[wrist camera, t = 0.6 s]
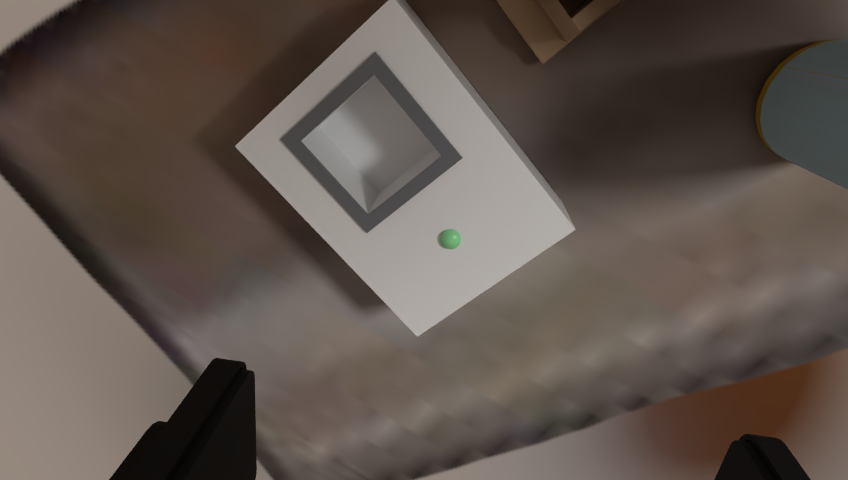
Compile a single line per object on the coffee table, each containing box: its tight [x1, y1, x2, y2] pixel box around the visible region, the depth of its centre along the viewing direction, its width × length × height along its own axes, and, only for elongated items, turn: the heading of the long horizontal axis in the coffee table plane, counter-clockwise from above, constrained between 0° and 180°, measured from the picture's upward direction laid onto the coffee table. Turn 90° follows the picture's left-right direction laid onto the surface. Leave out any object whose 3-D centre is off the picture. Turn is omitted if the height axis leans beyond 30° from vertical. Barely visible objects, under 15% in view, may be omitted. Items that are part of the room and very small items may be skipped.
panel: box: [235, 0, 576, 336], centre depth 33 cm, size 12×16×5 cm
